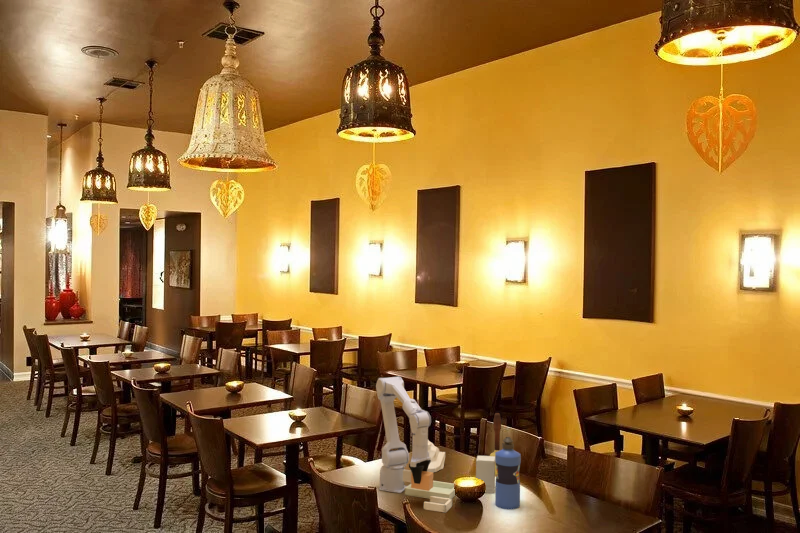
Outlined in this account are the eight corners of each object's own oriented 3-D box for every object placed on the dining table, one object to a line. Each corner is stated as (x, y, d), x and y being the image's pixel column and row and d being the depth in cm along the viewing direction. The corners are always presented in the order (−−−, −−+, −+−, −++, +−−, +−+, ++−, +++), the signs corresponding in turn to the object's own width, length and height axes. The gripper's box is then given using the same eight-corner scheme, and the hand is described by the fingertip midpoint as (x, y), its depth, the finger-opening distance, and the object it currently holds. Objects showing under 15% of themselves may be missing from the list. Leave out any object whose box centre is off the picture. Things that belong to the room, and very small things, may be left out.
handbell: (490, 465, 294) (491, 409, 294) (516, 470, 287) (516, 412, 287) (477, 471, 284) (477, 413, 284) (503, 477, 277) (503, 417, 277)
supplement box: (494, 493, 257) (494, 461, 257) (475, 492, 258) (475, 460, 258) (495, 487, 264) (495, 456, 264) (476, 486, 265) (477, 454, 265)
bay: (423, 509, 239) (423, 502, 239) (430, 502, 246) (430, 495, 246) (445, 512, 236) (445, 505, 236) (452, 505, 243) (452, 499, 243)
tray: (404, 494, 254) (404, 488, 254) (417, 484, 266) (417, 478, 266) (449, 501, 247) (449, 494, 247) (459, 490, 259) (459, 484, 259)
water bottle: (522, 502, 247) (522, 435, 247) (518, 510, 238) (518, 441, 239) (497, 499, 250) (497, 433, 250) (492, 507, 242) (493, 439, 242)
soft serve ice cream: (448, 476, 283) (446, 446, 279) (413, 478, 283) (410, 449, 280) (445, 460, 295) (443, 432, 292) (412, 463, 295) (410, 434, 292)
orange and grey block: (401, 486, 245) (401, 471, 245) (405, 482, 250) (406, 468, 250) (428, 490, 241) (429, 475, 241) (433, 487, 245) (433, 472, 245)
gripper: (423, 450, 237) (422, 488, 237) (436, 441, 250) (436, 476, 250) (405, 448, 240) (404, 485, 240) (419, 439, 253) (419, 474, 253)
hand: (419, 481), depth 245 cm, fingers closed on orange and grey block, 4 cm apart
